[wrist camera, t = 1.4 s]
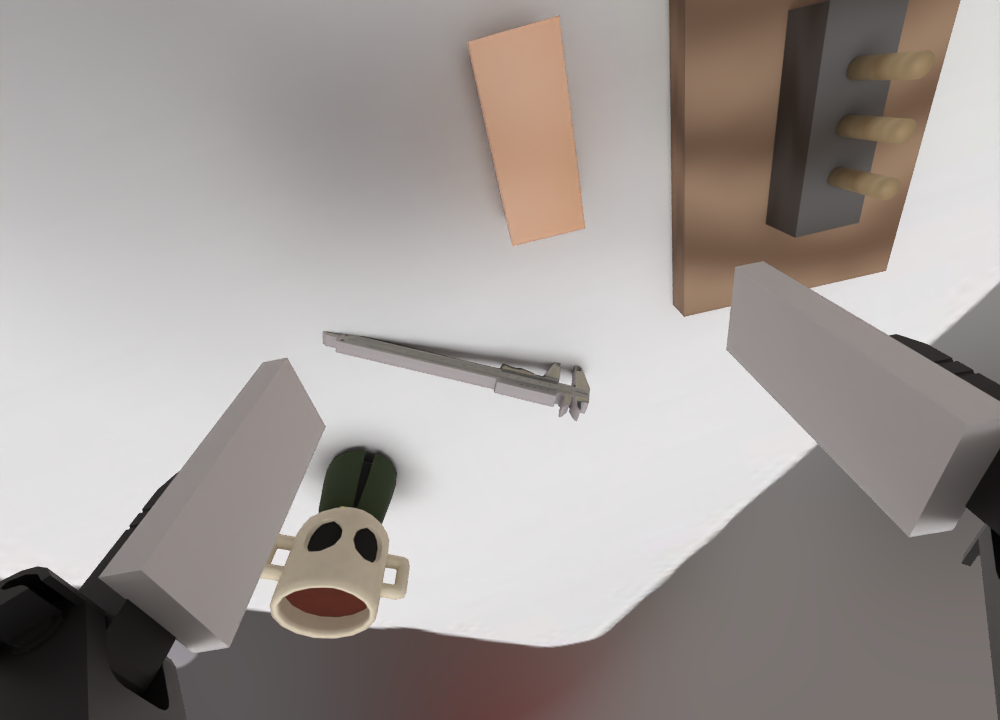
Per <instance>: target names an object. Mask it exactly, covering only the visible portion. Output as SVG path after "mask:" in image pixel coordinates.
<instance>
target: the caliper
mask: <svg viewBox="0 0 1000 720" xmlns="http://www.w3.org/2000/svg"><path fill="white" fill-rule="evenodd" d="M323 344H325V346H329V347H333V348H336V352H338V353H342V354H347V355H351V356H355V357H359V358H363V359H368V360H372V361H376V362H380V363H384V364H389V365H393V366H397V367H401V368H406V369H410V370H414V371H418V372H423V373H427V374H431V375H436V376H440V377H444V378H448V379H453V380H457V381H461V382H465V383H470V384H474V385H478V386H482V387H487V388H491V389H494V392H495V393H498V394H502V395H506V396H510V397H514V398H518V399H522V400H526V401H530V402H535V403H539V404H543V405H547V406H552V407H553V406H554V404H558V406H559V407H560V410H559V417H562V416H563V415H564V414H565V413H566V412H567V410H568V407H569V408H570V409H569V412H570V414H571V416H572V418H573V419H574V420H575V421H577V419H578V416H579V414H580V413H585V411H586V409H587V406H588V403H589V392H590V388H589V385H588V382H587V380H586V377H585V374H584V372H583V370H582V368H580V367H578V366H575V369H574V372H573V375H572V386H570V385H566V384H562V383H559V379H560V371H561V368H560V364H561V363H554V364H553V365H552V366H551V367H550V369H549V370H548V371H547V372H546V373H545V375H544V376H539V375H534V373H532V372H529V371H527V370H525V369H522V368H514V367H511V366H509V365H506V364H502V365H501V368H500V369H499V368H494V367H490V366H486V365H481V364H477V363H473V362H469V361H464V360H460V359H456V358H451V357H447V356H443V355H439V354H434V353H430V352H426V351H422V350H417V349H413V348H409V347H405V346H401V345H396V344H392V343H388V342H384V341H380V340H376V339H371V338H367V337H362V336H355V335H347V334H341V335H339V334H335V333H331V332H325V331H324V332H323Z"/></svg>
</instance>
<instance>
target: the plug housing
mask: <svg viewBox="0 0 1000 720" xmlns="http://www.w3.org/2000/svg"><path fill="white" fill-rule="evenodd" d="M468 50H469V56H470V60H471V65H472V69H473V74H474V78H475V83H476V87H477V92H478V96H479V101H480V105H481V110H482V114H483V119H484V123H485V128H486V132H487V137H488V141H489V146H490V150H491V155H492V159H493V164H494V168H495V173H496V177H497V182H498V187H499V191H500V196H501V200H502V205H503V209H504V214H505V218H506V222H507V226H508V230H509V233H510V237H511V241H512V245H513V246H515V245H519V244H523V243H527V242H531V241H535V240H540V239H544V238H548V237H552V236H556V235H560V234H564V233H568V232H572V231H576V230H580V229H584V228H585V222H584V214H583V206H582V198H581V190H580V181H579V173H578V165H577V157H576V149H575V141H574V133H573V124H572V116H571V108H570V100H569V92H568V84H567V75H566V67H565V59H564V51H563V43H562V35H561V27H560V18H559V16H556V17H552V18H549V19H545V20H542V21H538V22H535V23H531V24H528V25H524V26H521V27H518V28H514V29H511V30H507V31H504V32H500V33H497V34H493V35H490V36H486V37H483V38H479V39H476V40H472V41H469V42H468Z"/></svg>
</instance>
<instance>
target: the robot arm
mask: <svg viewBox="0 0 1000 720" xmlns="http://www.w3.org/2000/svg"><path fill="white" fill-rule="evenodd" d="M726 350H727V351H728V352H729V353H730V354H731V355H732V356H733V357H734V358H735V359H736V360H737V361H738V362H739V363H740V364H741V365H742V366H743V367H744V368H745V369H746V370H747V371H748V372H749V373H750V374H751V375H752V376H753V377H754V378H755V380H756V381H757V382H758V383H759V384H760V385H761V386H762V387H763V388H764V389H765V390H766V391H767V392H768V393H769V394H770V395H771V396H772V397H773V398H774V399H775V400H776V401H777V402H778V403H779V404H780V405H781V406H782V407H783V408H784V409H785V410H786V411H787V412H788V413H789V414H790V415H791V416H792V417H793V419H794V420H795V421H796V422H797V423H798V424H799V425H800V426H801V427H802V428H803V429H804V430H805V431H806V432H807V433H808V434H809V435H810V436H811V437H812V438H813V439H814V440H815V441H816V442H817V443H818V444H819V445H820V446H821V447H822V448H823V449H824V450H825V451H826V452H827V453H828V454H829V455H830V456H831V458H833V460H834V461H835V462H836V463H837V464H838V465H839V466H840V467H841V468H842V469H843V470H844V471H845V472H846V473H847V474H848V475H849V476H850V477H851V478H852V479H853V480H854V481H855V482H856V483H857V484H858V485H859V486H860V487H861V488H862V489H863V490H864V491H865V492H866V493H867V494H868V495H869V496H870V497H871V499H872V500H873V501H875V503H876V504H877V505H878V506H879V507H880V508H881V509H882V510H883V511H884V512H885V513H886V514H887V515H888V516H889V517H890V518H891V519H892V520H893V521H894V522H895V523H896V524H897V525H898V526H899V527H900V528H901V529H902V530H903V531H904V532H905V533H906V534H907V535H908V536H909V537H913V536H919V535H925V534H931V533H937V532H943V531H949V530H953V529H954V527H955V526H956V524H957V522H958V521H959V519H960V517H961V516H962V514H963V512H964V511H965V509H966V508H968V509H969V510H970V511H971V512H972V513H974V514H975V515H976V516H977V517H978V518H980V519H981V520H982V521H983V522H984V523H985V524H984V525H983V527H982V528H981V530H980V531H979V533H978V534H977V536H976V537H975V539H974V540H973V542H972V543H971V545H970V546H969V548H968V549H967V551H966V552H965V554H964V557H963V560H962V564H965V565H968V566H971V564H972V563H973V561H974V560H975V559H976V557H977V556H979V555H980V558H981V566H982V576H983V585H984V594H985V603H986V611H987V621H988V630H989V639H990V649H991V658H992V667H993V677H994V686H995V695H996V704H997V713H998V720H1000V385H999V384H997V383H996V382H994V381H992V380H990V379H989V378H986V377H985V376H983V375H981V374H979V373H977V374H975V373H974V372H973V370H972V369H971V368H969V367H967V366H965V365H964V364H962V363H960V362H958V361H955V362H953V360H952V358H951V357H949V356H948V355H946V354H944V353H942V352H940V351H938V350H937V349H935V348H933V347H931V346H930V345H928V344H925V343H922V342H919V341H916V340H913V339H910V338H907V337H904V336H900V335H897V334H895V335H887V334H885V333H884V332H882V331H880V330H878V329H877V328H875V327H873V326H872V325H870V324H868V323H867V322H865V321H863V320H862V319H860V318H858V317H856V316H855V315H853V314H851V313H850V312H848V311H846V310H845V309H843V308H841V307H840V306H838V305H836V304H835V303H833V302H831V301H829V300H828V299H826V298H824V297H823V296H821V295H819V294H818V293H816V292H814V291H813V290H811V289H809V288H808V287H806V286H804V285H802V284H801V283H799V282H797V281H796V280H794V279H792V278H791V277H789V276H787V275H786V274H784V273H782V272H781V271H779V270H777V269H775V268H774V267H772V266H770V265H769V264H767V263H765V262H764V261H762V262H757V263H752V264H747V265H742V266H737V267H735V273H734V283H733V292H732V302H731V311H730V320H729V330H728V339H727V349H726ZM325 427H326V426H325V425H324V423H323V421H322V419H321V417H320V416H319V414H318V412H317V410H316V408H315V407H314V405H313V403H312V401H311V399H310V398H309V396H308V394H307V392H306V390H305V389H304V387H303V385H302V383H301V381H300V380H299V378H298V376H297V374H296V372H295V371H294V369H293V367H292V365H291V363H290V362H289V360H288V358H283V359H278V360H273V361H268V362H263V363H262V364H261V366H260V367H259V368H258V370H257V371H256V372H255V373H254V375H253V376H252V377H251V379H250V380H249V381H248V383H247V384H246V385H245V387H244V388H243V389H242V390H241V392H240V393H239V394H238V396H237V397H236V398H235V400H234V401H233V402H232V404H231V405H230V406H229V407H228V409H227V410H226V411H225V413H224V414H223V415H222V417H221V418H220V419H219V420H218V422H217V423H216V424H215V426H214V427H213V428H212V430H211V431H210V432H209V434H208V435H207V436H206V437H205V439H204V440H203V441H202V443H201V444H200V445H199V447H198V448H197V449H196V451H195V452H194V453H193V454H192V456H191V457H190V458H189V460H188V461H187V462H186V464H185V465H184V466H183V467H182V469H181V470H180V471H179V472H178V473H176V474H175V475H174V476H173V477H172V478H171V479H169V480H168V481H167V482H166V483H165V484H164V485H163V486H161V487H160V488H159V489H158V490H157V491H156V492H155V494H154V495H153V496H152V498H151V499H150V500H149V501H148V503H147V504H146V505H145V506H144V508H143V509H142V510H143V512H142V513H139V514H138V515H137V517H136V518H135V519H134V520H133V522H132V523H131V524H130V529H129V530H126V531H125V532H124V533H123V534H122V536H121V537H120V538H119V540H118V541H117V542H116V543H115V545H114V546H113V547H112V548H111V550H110V551H109V552H108V554H107V555H106V556H105V557H104V559H103V560H102V561H101V562H100V564H99V565H98V566H97V568H96V569H95V570H94V571H93V573H92V574H91V575H90V576H89V578H88V579H87V580H86V582H85V583H84V584H83V585H82V587H81V588H80V589H79V590H76V589H75V588H74V587H72V586H71V585H70V584H68V583H67V582H66V581H64V580H63V579H62V578H60V577H59V576H58V575H56V574H55V573H53V572H52V571H51V570H49V569H48V568H44V567H38V566H37V567H34V568H30V569H26V570H23V571H20V572H18V573H16V574H14V575H12V576H10V577H8V578H6V579H4V580H2V581H1V582H0V720H187V719H186V714H185V709H184V705H183V700H182V695H181V690H180V685H179V680H178V675H177V671H176V667H175V665H174V663H173V662H172V660H171V659H169V658H168V657H167V654H168V652H169V650H170V649H171V647H172V645H173V643H174V641H175V639H176V640H178V641H179V642H180V643H181V644H183V645H184V646H185V647H186V648H188V649H189V650H190V651H191V652H193V653H198V652H204V651H210V650H216V649H222V648H229V647H230V645H231V642H232V640H233V638H234V636H235V633H236V631H237V628H238V626H239V624H240V622H241V619H242V617H243V615H244V613H245V610H246V608H247V606H248V604H249V601H250V599H251V597H252V594H253V592H254V590H255V587H256V585H257V583H258V581H259V578H260V576H261V574H262V571H263V569H264V567H265V564H266V562H267V560H268V558H269V555H270V553H271V551H272V548H273V546H274V544H275V541H276V539H277V537H278V535H279V532H280V530H281V528H282V525H283V523H284V521H285V518H286V516H287V514H288V512H289V509H290V507H291V505H292V502H293V500H294V498H295V495H296V493H297V491H298V489H299V486H300V484H301V482H302V479H303V477H304V475H305V473H306V470H307V468H308V466H309V463H310V461H311V459H312V456H313V454H314V452H315V450H316V447H317V445H318V443H319V440H320V438H321V436H322V433H323V431H324V429H325Z"/></svg>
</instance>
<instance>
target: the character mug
mask: <svg viewBox="0 0 1000 720" xmlns="http://www.w3.org/2000/svg"><path fill="white" fill-rule="evenodd" d="M365 452H366V451H363V450H359V451H348V452H345V453H343V454H341V455H339V456H337V457H335V458H334V459H333V461H332V462H331V464H330V466H329V467H328V469H327V472H326V476H325V480H324V484H323V489H322V495H321V500H320V506H319V513H318V514H316V515H314V516H312V517H311V518H309V519H308V520H307V521H306V522H305V523H304V525H303V526H302V528H301V529H300V530H299V532H298V533H297V535H296V537H293V536H287V535H282V534H279V535H278V537H277V539H276V541H275V544H274V546H273V548H272V551H271V553H270V555H269V558H268V560H267V562H266V564H265V567H264V569H263V571H262V574H261V576H260V578H263V579H269V580H275V581H278V584H277V586H276V589H275V592H274V594H273V597H272V600H271V603H270V609H271V615H272V617H273V618H274V619H275V620H276V621H277V622H278V623H279V624H280V625H281V626H282V627H284V628H286V629H288V630H290V631H293V632H294V633H297V634H301V635H305V636H309V637H314V638H340V637H346V636H352V635H355V634H357V633H359V632H362V631H364V630H366V629H367V628H368V627H369V626H370V625H371V624H372V623H373V622H374V621H375V619H376V615H377V611H378V605H379V600H380V597H382V598H389V599H395V600H396V599H401V598H404V596H405V594H406V591H407V583H408V575H409V567H410V566H409V561H408V559H406V558H404V557H401V556H395V555H390V554H388V547H389V539H388V535H387V532H386V531H385V529H384V527H383V526H382V522H383V520H384V517H385V514H386V512H387V509H388V507H389V504H390V501H391V499H392V495H393V492H394V489H395V486H396V476H397V472H396V470H395V469H394V467H393V465H392V464H391V462H390V461H388V460H387V459H385V458H384V457H382V456H381V455H379V454H375V457H374V460H373V463H369V462H363V460H364V456H365ZM278 548H279V549H284V550H290V553H289V556H288V559H287V561H286V564H285V566H279V565H273V564H271V562H272V559H273V557H274V555H275V552H276V550H277V549H278ZM385 567H386V568H392V569H396V570H397V573H396V579H395V585H392V584H386V583H382V582H383V577H384V571H385Z"/></svg>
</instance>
